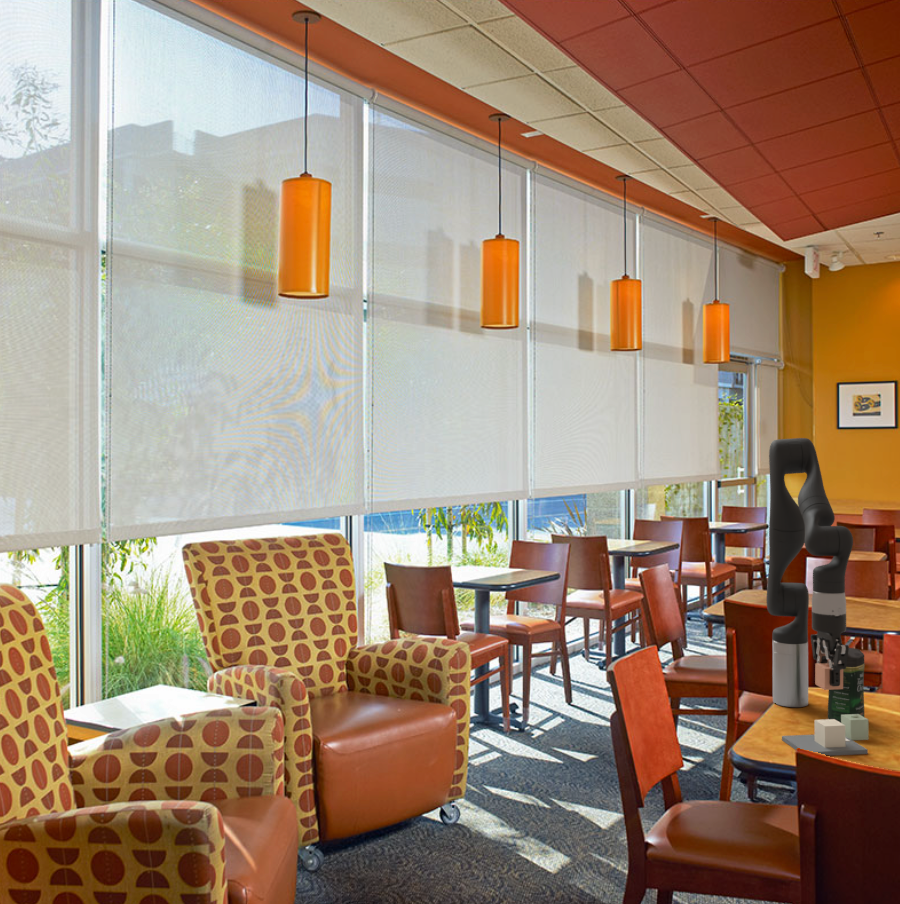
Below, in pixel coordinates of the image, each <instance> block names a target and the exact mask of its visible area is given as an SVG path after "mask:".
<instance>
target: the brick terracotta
mask: <svg viewBox="0 0 900 904" xmlns="http://www.w3.org/2000/svg"><path fill="white" fill-rule="evenodd" d="M833 664H834V663H833ZM814 665H815V666H814V667H815V668H814V669H815V670H814V673H815V675H814V676H815V677H814V681H815V682H814V683H815V685H816V686H817V687H819V688H821V689H822V690H824V691H829V690H834V689H843V669H842V670H840V685H839V686H831V685H830V667H829V663H817V662H816V663H814Z"/></svg>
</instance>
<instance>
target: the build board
mask: <svg viewBox="0 0 900 904" xmlns="http://www.w3.org/2000/svg"><path fill="white" fill-rule="evenodd" d="M781 740H782V742H784V743H785V744H787V745H788V746H790V747H791V748H792V749H794V750H795V751H797V750H796V749H797V748H800V749H804V750H809V751H813V752H818V753H821V754H825V755H829V757H830V756H853V755H868V753H869V752H868V749H867V748H866V747H864V746H863V745H860V744H859V743H857V742H855V740H851V739H849V738H848V737H846V736H845V725H844V724H842V723H840V722H839V721H837V720H835V719H828V718H826V719H814V734H796V735H781Z"/></svg>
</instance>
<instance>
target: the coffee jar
mask: <svg viewBox="0 0 900 904" xmlns="http://www.w3.org/2000/svg"><path fill="white" fill-rule="evenodd" d="M831 656H835V655H831ZM833 663H834V660H833ZM841 664H842V660H841ZM865 664H866V663H865V654H864V652H863V651H861V649H858V648H854V647H849V651H848V657H847V664H846V669H843V689H834V690H828V695H827V696H828V698H827V699H828V700H827V701H828V702H827V719H835V720H837V721H839V722H840V723H841V715H846V714H859V715H861V716H863V717H865V695H864V693H865V692H864V690H865V689H864V688H865V687H864V686H865V685H864V683H865V682H864V681H865V680H864V674H865Z"/></svg>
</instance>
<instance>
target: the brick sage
mask: <svg viewBox="0 0 900 904" xmlns="http://www.w3.org/2000/svg"><path fill="white" fill-rule="evenodd" d="M841 723H842V724H844V725H845V736H846V737H848V738H849V739H851V740H853V741H866V740H867V741H869V718H866V717H865V716H864V717H863V716H861V715H859V714H846V715H841Z"/></svg>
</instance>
